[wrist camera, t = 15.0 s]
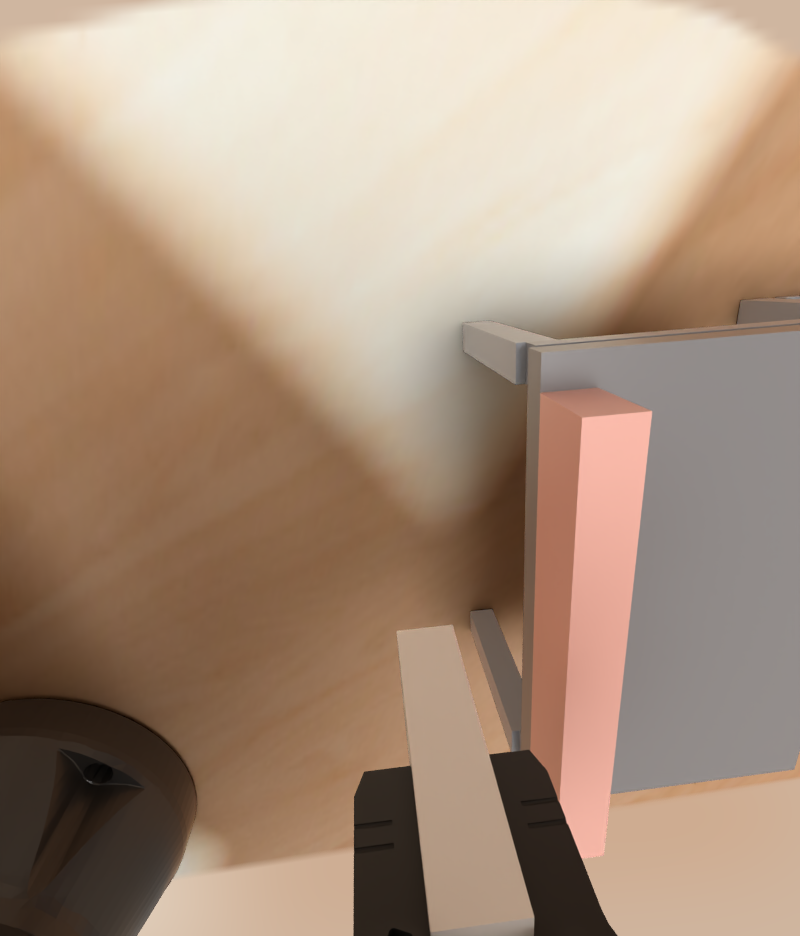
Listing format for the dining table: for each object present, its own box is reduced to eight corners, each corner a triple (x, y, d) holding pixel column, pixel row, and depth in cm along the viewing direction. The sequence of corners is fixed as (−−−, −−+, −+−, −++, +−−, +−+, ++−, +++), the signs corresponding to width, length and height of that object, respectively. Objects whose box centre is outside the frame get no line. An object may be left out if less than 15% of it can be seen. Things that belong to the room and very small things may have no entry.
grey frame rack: (470, 629, 27) (518, 772, 19) (462, 322, 21) (524, 346, 14) (922, 577, 28) (1139, 690, 21) (1026, 276, 23) (1379, 274, 15)
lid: (520, 779, 19) (554, 883, 16) (528, 347, 13) (584, 368, 10) (772, 746, 19) (857, 840, 16) (884, 317, 14) (1048, 328, 11)
